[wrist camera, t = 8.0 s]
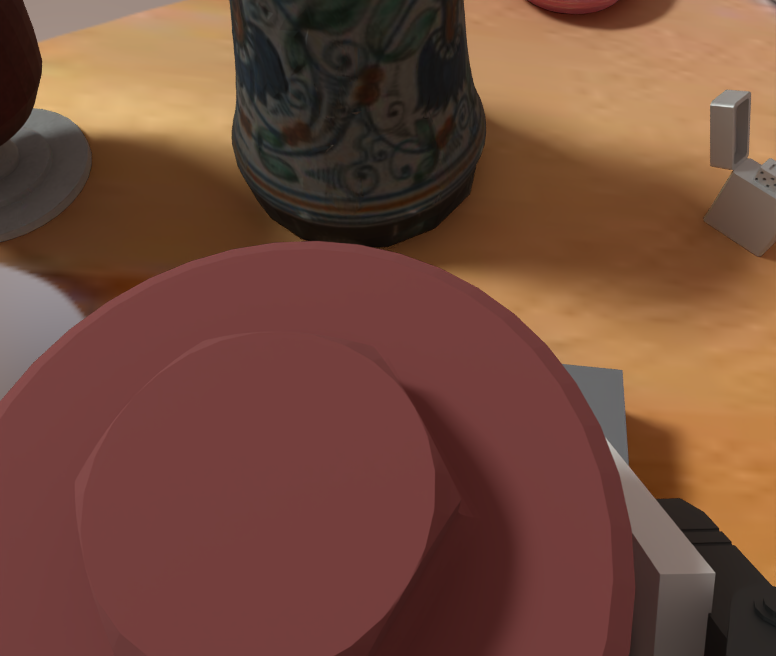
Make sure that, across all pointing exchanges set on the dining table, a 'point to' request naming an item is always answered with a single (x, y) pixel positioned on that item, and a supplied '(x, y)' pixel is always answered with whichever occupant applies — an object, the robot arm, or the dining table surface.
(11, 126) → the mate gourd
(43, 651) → the mechanical component
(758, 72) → the dining table surface
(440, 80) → the beer stein
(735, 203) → the lighter
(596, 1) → the pink torus ring
